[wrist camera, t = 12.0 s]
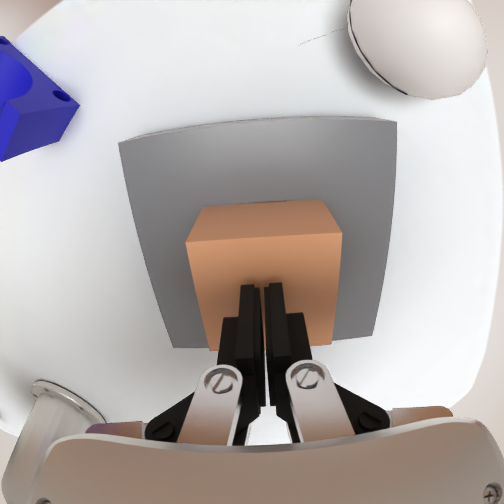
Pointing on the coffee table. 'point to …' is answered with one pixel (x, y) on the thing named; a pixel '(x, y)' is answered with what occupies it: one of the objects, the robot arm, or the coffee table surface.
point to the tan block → (267, 261)
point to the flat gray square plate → (264, 190)
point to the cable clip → (29, 105)
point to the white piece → (419, 44)
